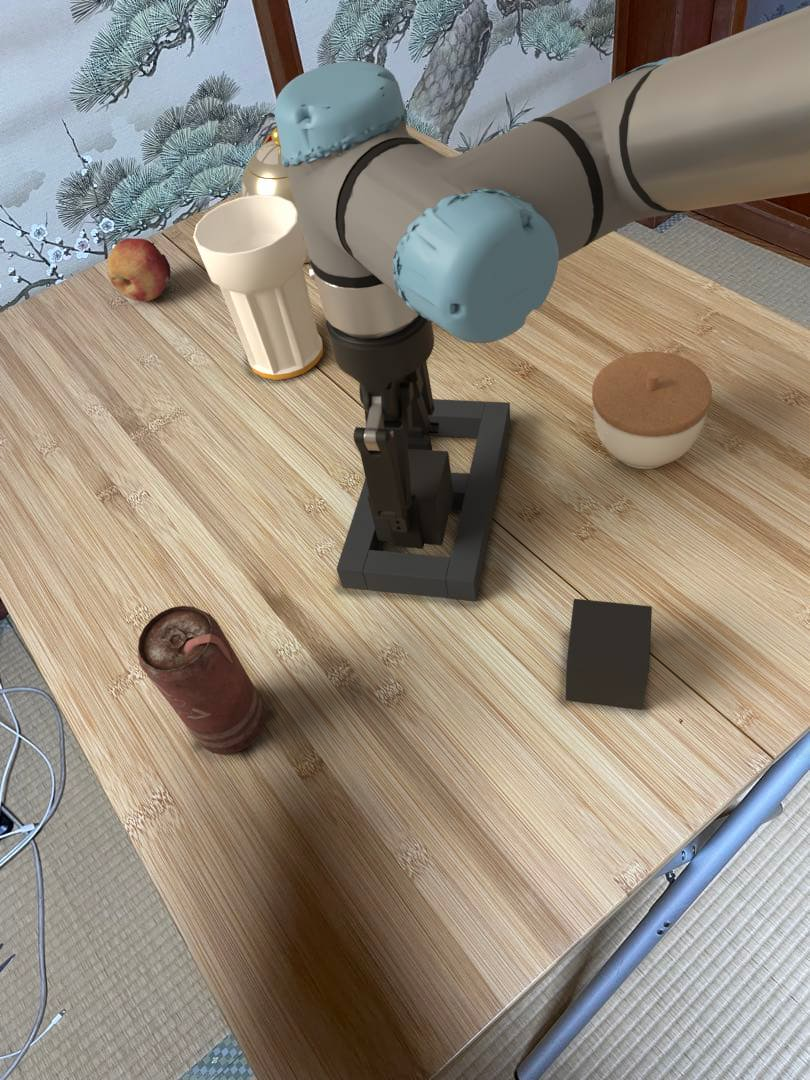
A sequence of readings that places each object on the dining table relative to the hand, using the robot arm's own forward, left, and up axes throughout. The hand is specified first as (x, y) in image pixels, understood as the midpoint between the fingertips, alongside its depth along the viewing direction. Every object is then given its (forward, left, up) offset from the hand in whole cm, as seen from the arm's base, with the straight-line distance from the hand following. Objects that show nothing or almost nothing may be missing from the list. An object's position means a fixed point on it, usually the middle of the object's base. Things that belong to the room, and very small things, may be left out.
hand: (416, 515), depth 77 cm
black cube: (-12, -18, -4) cm, 22 cm away
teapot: (+47, +25, -4) cm, 53 cm away
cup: (+26, +22, -4) cm, 34 cm away
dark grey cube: (0, 0, 0) cm, 0 cm away
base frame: (+5, 0, -4) cm, 6 cm away
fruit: (+37, +45, -4) cm, 58 cm away
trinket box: (+14, -20, -4) cm, 25 cm away
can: (-21, +12, -4) cm, 24 cm away
